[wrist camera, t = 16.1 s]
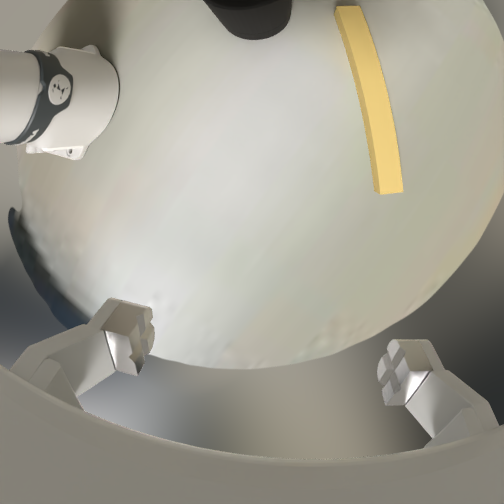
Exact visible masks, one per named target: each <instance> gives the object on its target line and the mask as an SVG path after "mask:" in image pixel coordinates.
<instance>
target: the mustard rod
mask: <svg viewBox="0 0 504 504" xmlns="http://www.w3.org/2000/svg"><path fill="white" fill-rule="evenodd" d="M334 16H335V19H336V22H337V25H338V28H339V31H340V34H341V37H342V40H343V43H344V46H345V49H346V53H347V56H348V59H349V63H350V67H351V70H352V74H353V78H354V82H355V86H356V90H357V94H358V98H359V102H360V107H361V112H362V116H363V121H364V126H365V132H366V137H367V143H368V149H369V155H370V161H371V168H372V176H373V184H374V191H375V192H377V193H379V194H380V195H381V194H389V193H398V192H403V184H402V175H401V166H400V158H399V151H398V145H397V138H396V132H395V127H394V121H393V116H392V111H391V106H390V102H389V97H388V93H387V89H386V85H385V81H384V77H383V73H382V70H381V66H380V63H379V59H378V56H377V52H376V49H375V46H374V43H373V40H372V37H371V34H370V31H369V28H368V26H367V23H366V20H365V17H364V15H363V12H362V10H361V7H360V6H336V10H335V13H334Z"/></svg>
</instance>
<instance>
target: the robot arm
mask: <svg viewBox="0 0 504 504" xmlns="http://www.w3.org/2000/svg"><path fill="white" fill-rule="evenodd" d="M118 93H119V83H118V77H117V74H116V71H115V69H114V67H113V66H112V65H111V63H110V62H108V61H107V60H105V59H104V58H103V57H101V55H100V53H99V50H98V48H97V47H96V46H95V45H88V46H86V47H84V48H82V49H80V50H79V49H73V48H68V47H57V48H56V49H54V50H52V51H50V52H49V53H47V52H45V51H40V50H35V51H34V50H28V51H25V52H18V51H11V50H1V49H0V143H4V144H7V145H21V144H25V143H26V144H27V146H26V153H44V152H47V153H51V154H55V155H58V156H62V157H65V158H69V159H72V160H80V159H81V158H82V157H83V156H84V154H85V152H86V150H87V148H88V146H89V145H90V143H91V142H92V141H93V140H95V139H96V138H97V137H98V136H99V135H100V134H101V133H102V132H103V130H104V129H105V128H106V126H107V125H108V123H109V121H110V120H111V118H112V115H113V113H114V110H115V107H116V104H117V100H118ZM152 318H153V315H152V309H151V308H150V307H147V306H143V305H139V304H135V303H131V302H128V301H123V300H119V299H115V298H109V299H107V301H106V302H105V303H104V304H103V305H102V307H101V308H100V309H99V310H98V312H97V313H96V314H95V315H94V316H93V318H92V319H91V320H90V321H89V323H88V324H87V325H85V324H82V325H79V326H77V327H75V328H72V329H70V330H67V331H65V332H62V333H60V334H58V335H55V336H53V337H50V338H48V339H45V340H43V341H40V342H38V343H36V344H33V345H31V346H28V348H27V349H26V350H25V351H24V352H23V354H22V355H21V356H20V357H19V359H18V360H17V361H16V362H15V364H14V365H13V366H12V367H11V369H10V370H8V369H6V368H4V367H3V366H2V365H0V504H504V425H502V426H499V425H498V423H497V420H496V418H495V416H494V414H493V412H492V409H491V407H490V405H489V403H488V401H486V400H485V399H484V398H483V397H481V396H480V395H479V394H478V393H476V392H475V391H474V390H472V389H471V388H470V387H469V386H467V385H466V384H465V383H463V382H462V381H461V380H460V379H459V378H457V377H456V376H455V375H454V374H452V373H451V372H449V371H448V370H445V369H444V367H443V366H442V363H441V362H440V359H439V357H438V355H437V353H436V352H435V350H434V348H433V346H432V344H431V342H430V341H428V340H399V339H393V340H392V341H391V342H390V343H389V345H388V347H387V350H388V353H387V354H385V355H384V356H382V358H381V360H380V362H379V364H378V369H377V376H378V380H379V382H380V383H381V384H382V385H383V386H384V387H383V389H382V394H383V398H384V402H385V405H386V406H390V405H405V406H406V407H407V409H408V410H409V411H410V412H411V413H412V415H413V416H414V417H415V418H416V419H417V420H418V421H419V423H420V424H421V425H422V426H423V427H424V429H425V430H426V431H427V432H428V433H429V435H430V436H431V437H432V438H433V439H432V440H431V441H430V442H429V443H428V444H427V445H425V447H424V448H423V449H418V450H413V451H408V452H402V453H396V454H388V455H380V456H370V457H359V458H343V459H289V458H272V457H260V456H251V455H243V454H235V453H228V452H222V451H216V450H211V449H205V448H200V447H195V446H191V445H186V444H182V443H177V442H174V441H170V440H166V439H162V438H158V437H155V436H152V435H148V434H145V433H142V432H139V431H136V430H132V429H129V428H127V427H124V426H121V425H118V424H115V423H112V422H110V421H107V420H105V419H102V418H100V417H97V416H95V415H92V414H90V413H88V412H85V411H84V409H83V406H82V405H81V403H80V401H79V400H78V398H77V397H78V396H79V395H80V394H82V393H84V392H85V391H87V390H88V389H90V388H91V387H93V386H94V385H96V384H97V383H99V382H100V381H102V380H103V379H105V378H106V377H108V376H109V375H111V374H112V373H114V372H115V370H117V371H121V372H124V373H128V374H131V375H135V376H138V375H139V373H140V371H141V369H142V367H143V365H144V363H145V360H144V356H145V355H147V354H149V353H150V351H151V349H152V347H153V342H154V335H155V332H154V327H153V325H152V324H151V323H150V321H151V319H152Z"/></svg>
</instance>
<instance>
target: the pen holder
mask: <svg viewBox="0 0 504 504" xmlns="http://www.w3.org/2000/svg"><path fill="white" fill-rule="evenodd" d="M203 1H204V2H205V3H206V4H207V5H208V7H209V8H210V9H211V10H212V12H213V13H214V14H215V15H216V17H217V18H218V19H219V20H220V22H221V23H222V24H223V25H224V26H225V28H226V29H227V30H228V31H229V32H231V33H232V34H234V35H235V36H237V37H240V38H243V39H249V40H260V39H265V38H269V37H271V36H274V35H276V34H277V33H279V32H280V31H281V30H283V29H284V28H285V26H286V25H287V23H288V21H289V19H290V15H291V3H292V0H203Z"/></svg>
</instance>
